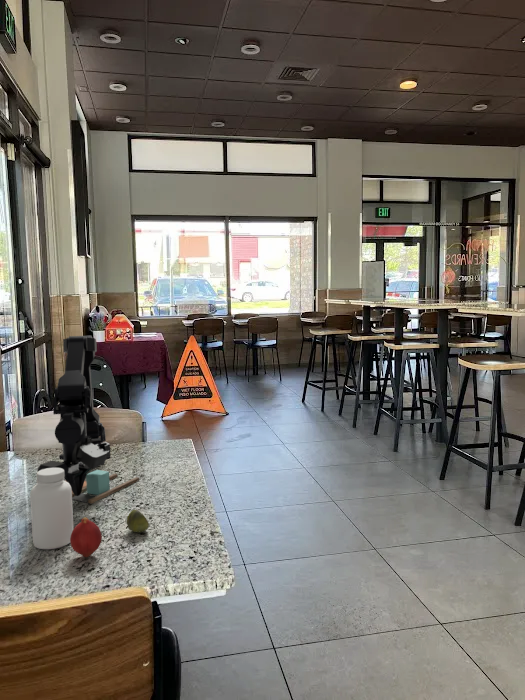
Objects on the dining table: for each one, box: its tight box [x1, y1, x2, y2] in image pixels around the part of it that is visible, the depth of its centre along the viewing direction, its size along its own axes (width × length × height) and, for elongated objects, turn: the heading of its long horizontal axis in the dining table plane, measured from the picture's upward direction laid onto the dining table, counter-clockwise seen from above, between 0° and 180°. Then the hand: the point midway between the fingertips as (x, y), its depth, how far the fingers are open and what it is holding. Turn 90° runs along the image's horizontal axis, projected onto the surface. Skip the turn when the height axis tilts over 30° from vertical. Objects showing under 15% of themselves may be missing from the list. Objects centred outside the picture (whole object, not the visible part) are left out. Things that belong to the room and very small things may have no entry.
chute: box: [72, 473, 140, 504], centre depth 145 cm, size 8×18×1 cm, turn 154°
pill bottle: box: [29, 468, 74, 550], centre depth 114 cm, size 8×8×15 cm
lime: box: [126, 509, 150, 533], centre depth 119 cm, size 4×5×5 cm
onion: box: [69, 517, 103, 558], centre depth 108 cm, size 6×6×8 cm
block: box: [85, 469, 111, 496], centre depth 143 cm, size 4×4×5 cm
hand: (77, 495), depth 137 cm, fingers closed
